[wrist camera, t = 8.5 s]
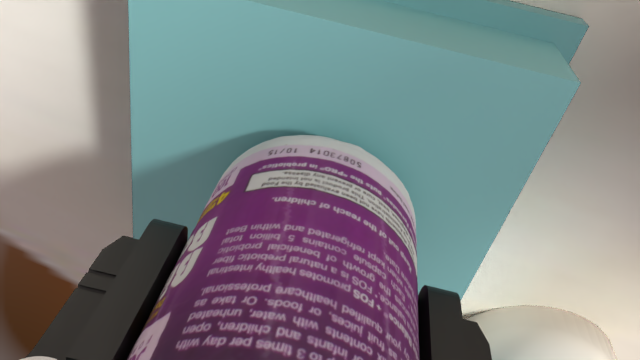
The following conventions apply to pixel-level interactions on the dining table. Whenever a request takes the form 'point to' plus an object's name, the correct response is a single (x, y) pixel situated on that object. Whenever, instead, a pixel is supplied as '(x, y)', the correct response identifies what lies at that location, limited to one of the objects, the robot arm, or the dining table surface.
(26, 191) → the dining table surface
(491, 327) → the white rounded puck
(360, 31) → the podium
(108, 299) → the robot arm
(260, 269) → the pill bottle
